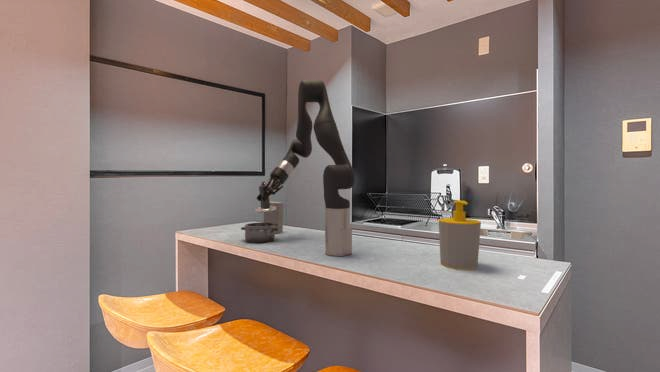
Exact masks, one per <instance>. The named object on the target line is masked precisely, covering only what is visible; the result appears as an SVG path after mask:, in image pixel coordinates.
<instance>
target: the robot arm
mask: <svg viewBox="0 0 660 372" xmlns="http://www.w3.org/2000/svg"><path fill="white" fill-rule="evenodd" d="M326 87H327V86H326V85H325V82H324V81H323V80H320V79H302V80H301V81H300V82H299V84H298V92H297V96H298V97H297V124H296V132H295V139H293V140H292V141H291V143H290V145H289V147H288V148H289V149H288V151H287V153H286V154H285V156H284V157H283V158H282V159H281V161H280V162H279V163H278V164H277V165H276V166H275V168H273V170H272V171H271V172H270V174H269V179H267V181H266V182H265V181H261V184H260V186H263V185H267V186H268V190H267V191H266V192H267V193H265V194H264V195H263V196H262V197H261V200H262V201H263V202H265V201H266V199H267V198H268V197H269V198H270V196H272V195H273V196H274V195H275V194H277V192H279V191H280V190H281V189H283V188H284V183H286V182H287V180H288V178H290V176H291V175H292V173H293V171H294V170H295V169H296V167H297V166H298V165H299V163H300V158H299V157H301V158H305V159H306V158H309V157H310V156H311V154H312V152H313V151H312V150H313V145H312V132H313V133H314V135H315V139H316V141H317V143H318V145H319V146H320V147H321V148H322V149H323V151H325V152H326V153H327V155H329V157H330V158H331V159H332V161H333V163H334V164H329V165H328V164H327V166H325V168H324V170H323V174H322V180H323V181H322V184H323V200H324V206H325V207H324V208H325V209H324V211H325V213H324V215H325V216H324V228H325V229H324V235H325V236H324V237H325V239H324V242H325V245H324V246H325V248H324V251H325V252H324V253H325V254H326V255H328V256H335V257H337V256H338V257H344V256H348V255H351V254H353V230H352V229H353V228H351V226H350V225H351V220H350V219H351V216H350V215H351V212H350V211H351V209H350V208H351V203H350V200H349V199H347V198H344V197H343V196H341V195H340V193H339V190H348V189H349V190H350V189H351V188H353V187H354V185H355V179H356V176H355V172H354V168H353V166H352V164H351V162H350V159H349V157H348V154H347V153H346V150H345V148H344V145H343V143H342V139H341V136H340V132H339V129H338V127H337V123H336V121H335V118H334V115H333V112H332V109H331V105H330V100H329V95H328V91H327V88H326ZM307 103H317V104H318V106H319V110H318V113H317V115H316V117H315V119H314V122H313V121H312V118H311V117H310V114H309V111H307ZM297 155H298V156H299V157H298V156H297ZM256 200H257V201H259V202H261V201H260V193H259V194H258V195H257V196H256Z"/></svg>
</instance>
